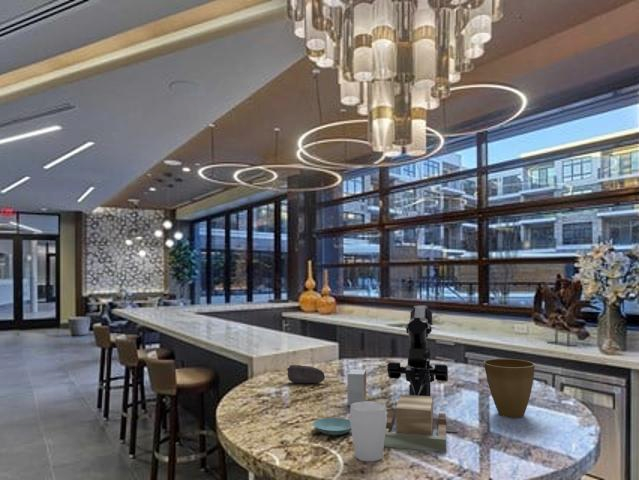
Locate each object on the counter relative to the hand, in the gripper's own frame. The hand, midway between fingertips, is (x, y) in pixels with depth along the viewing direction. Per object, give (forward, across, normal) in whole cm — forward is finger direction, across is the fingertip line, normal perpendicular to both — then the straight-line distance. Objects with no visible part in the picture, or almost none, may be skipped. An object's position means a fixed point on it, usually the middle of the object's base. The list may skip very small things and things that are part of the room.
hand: (416, 395), depth 146 cm
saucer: (+17, -22, -7) cm, 29 cm away
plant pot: (-2, +28, +12) cm, 31 cm away
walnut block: (+15, 0, -6) cm, 17 cm away
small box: (-3, -21, +13) cm, 25 cm away
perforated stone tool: (-19, -45, +30) cm, 58 cm away
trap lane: (+13, 0, -4) cm, 14 cm away
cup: (+28, -10, -19) cm, 35 cm away
